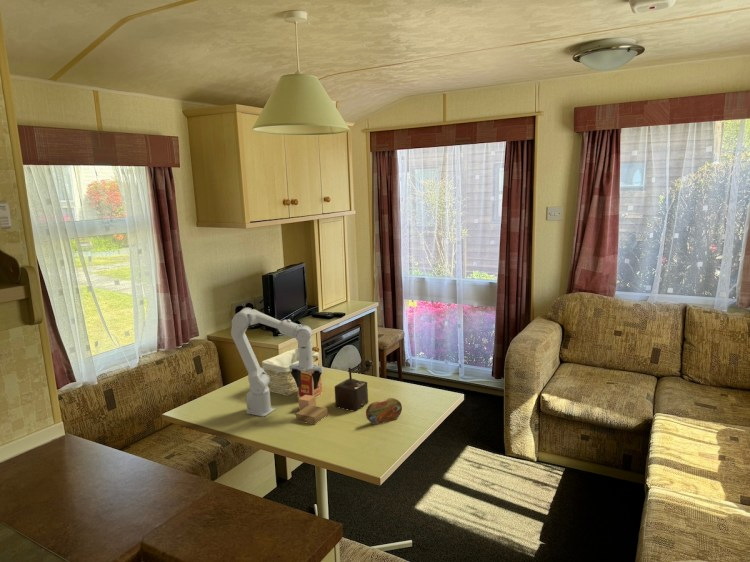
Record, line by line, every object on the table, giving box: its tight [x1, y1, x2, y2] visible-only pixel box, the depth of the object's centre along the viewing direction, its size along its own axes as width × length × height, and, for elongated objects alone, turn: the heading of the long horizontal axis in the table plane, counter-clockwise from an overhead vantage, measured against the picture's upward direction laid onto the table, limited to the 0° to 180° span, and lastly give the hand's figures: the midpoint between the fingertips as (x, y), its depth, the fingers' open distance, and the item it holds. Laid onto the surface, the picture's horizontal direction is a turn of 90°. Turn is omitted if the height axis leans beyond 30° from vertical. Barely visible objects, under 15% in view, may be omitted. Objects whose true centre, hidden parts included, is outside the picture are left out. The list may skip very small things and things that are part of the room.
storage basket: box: [261, 347, 320, 397], centre depth 243 cm, size 24×16×15 cm
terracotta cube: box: [298, 395, 317, 411], centre depth 217 cm, size 5×5×5 cm
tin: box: [365, 397, 403, 425], centre depth 202 cm, size 15×3×8 cm, turn 117°
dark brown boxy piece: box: [334, 359, 374, 412], centre depth 219 cm, size 16×11×18 cm
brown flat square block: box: [295, 405, 328, 425], centre depth 207 cm, size 9×9×3 cm
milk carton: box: [297, 355, 323, 399], centre depth 230 cm, size 9×9×20 cm
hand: (307, 387), depth 213 cm, fingers open, 7 cm apart
